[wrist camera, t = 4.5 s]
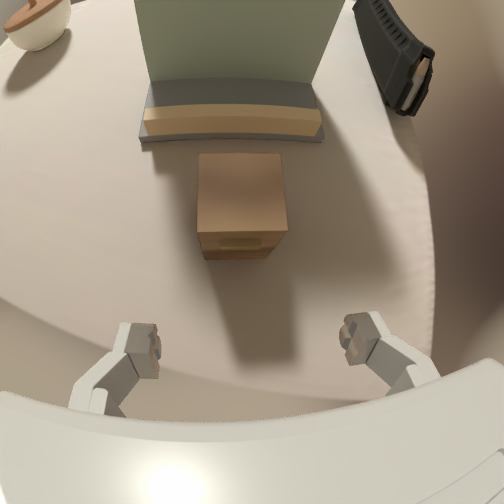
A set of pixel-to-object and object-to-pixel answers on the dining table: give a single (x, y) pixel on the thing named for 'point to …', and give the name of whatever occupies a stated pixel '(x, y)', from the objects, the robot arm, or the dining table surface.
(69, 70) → the dining table surface
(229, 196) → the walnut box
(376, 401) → the robot arm
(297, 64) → the wall board
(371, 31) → the magazine
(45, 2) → the lidded bowl
